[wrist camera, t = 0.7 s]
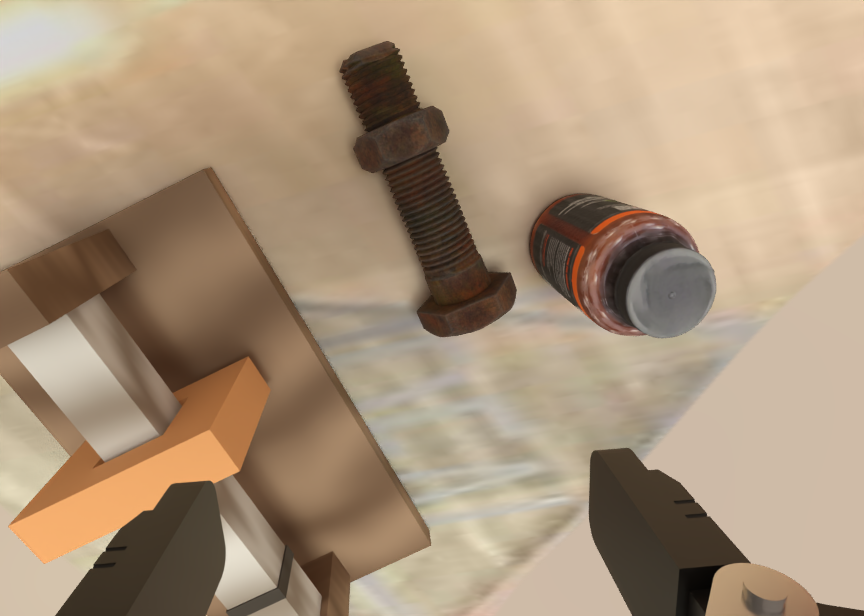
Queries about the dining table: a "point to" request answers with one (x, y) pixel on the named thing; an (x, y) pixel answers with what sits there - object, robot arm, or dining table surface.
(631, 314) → the supplement bottle
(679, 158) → the dining table surface
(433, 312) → the bolt
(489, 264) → the dining table surface
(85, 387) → the pipe stand
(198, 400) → the collar
